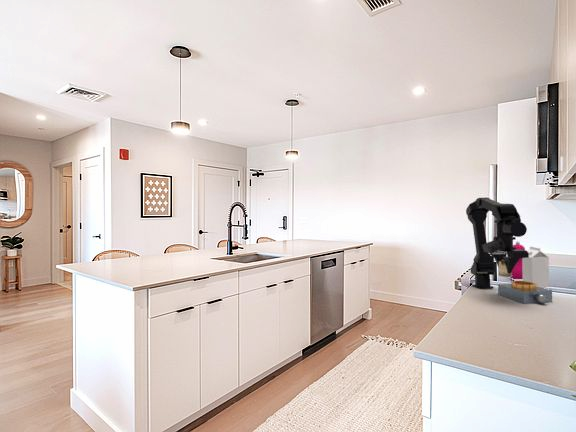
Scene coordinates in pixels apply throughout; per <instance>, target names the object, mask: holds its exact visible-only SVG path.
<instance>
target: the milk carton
mask: <svg viewBox="0 0 576 432" xmlns="http://www.w3.org/2000/svg"><path fill="white" fill-rule="evenodd" d="M526 251H527V252H528V253H529V258H522V271H523V281H528V282H533V283H536V284H537V287H541V288H546V287H549V288H550V269H549V268H550V265H549V264H550V261H549V260H550V258H549V256H548V255H547V254H546V253H544V252H542V251H541V248H540V247H535V246H529V249H528V250H526Z"/></svg>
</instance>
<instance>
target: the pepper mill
mask: <svg viewBox="0 0 576 432" xmlns="http://www.w3.org/2000/svg"><path fill="white" fill-rule="evenodd" d="M513 247H516V249H521V250H526V248H525V246H524V245H522V244H521V242H520V241H518V240H517V241H515V244H513ZM511 278H513V279H523V271H522V258H521V259H519V261H518V262H517V264H516V265H515V267H514V269H513V270H512V272H511V277H510V279H511Z"/></svg>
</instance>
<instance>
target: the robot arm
mask: <svg viewBox="0 0 576 432" xmlns="http://www.w3.org/2000/svg"><path fill="white" fill-rule="evenodd" d="M488 212H491V215H492V216H493V217H494V218H495V220H494V224H495V225H496V228H495V230H496V231H495V232H496V234H495V235H496V236H493V239H492V240H491V241H487V235H486V228H485V221H486V220H487V217H488ZM465 213H466V216H467V219H468V221H469V222H470V223H471V224H472V229H473V237H474V238H473V239H474V244H475V253H476V254H475V256H474V258H473V263H472V265H471V267H470V269H469V270H470V273H471V275H473V276H474V283H473V284H472V287H475V288H478V289H481V290H482V289H484V290H485V289H493V288H494V286H492V285H491V276H494V275H495V271H496V265H497V267H498V269H499V261H500V260H502V259H505V260H506V264H507V272H508V273H511V272H512V270H513V269H514V267H515V265H516V264H517V262H518V261H519V259H521V258H529V253H528V252H527V251H528V250H526V249H525V250H521V249H516V247H513V245H514V241H515V240H516V237H517V238H521V237H523V236H525V235H526V234H527V232H528V231H527V230H528V229H527V226H526V224H525V223H523V221H522V219H521V215H520V213H519V212H518V210H517V207H515V205H514V204H513V203H502V202H498V201H496V200H494V199H492V198H490V197H478V198H476V200H475V201H473V202H471V203H469V204H468V206H467V207H466V210H465ZM495 262H496V264H495Z"/></svg>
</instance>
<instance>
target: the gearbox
mask: <svg viewBox="0 0 576 432" xmlns="http://www.w3.org/2000/svg"><path fill="white" fill-rule="evenodd" d="M497 294H498V296H502V297H505V298H507V299H510V300H513V301H515V302H518V303H521V304H523V305H524V304H528V305H529V304H541V303H542V304H547V303H552V302H553V290H551V289H549V290H548V289H544V288H541V287H537V284H536V283H533V282H528V281H512V280H511V282H510V283H498V284H497Z"/></svg>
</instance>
